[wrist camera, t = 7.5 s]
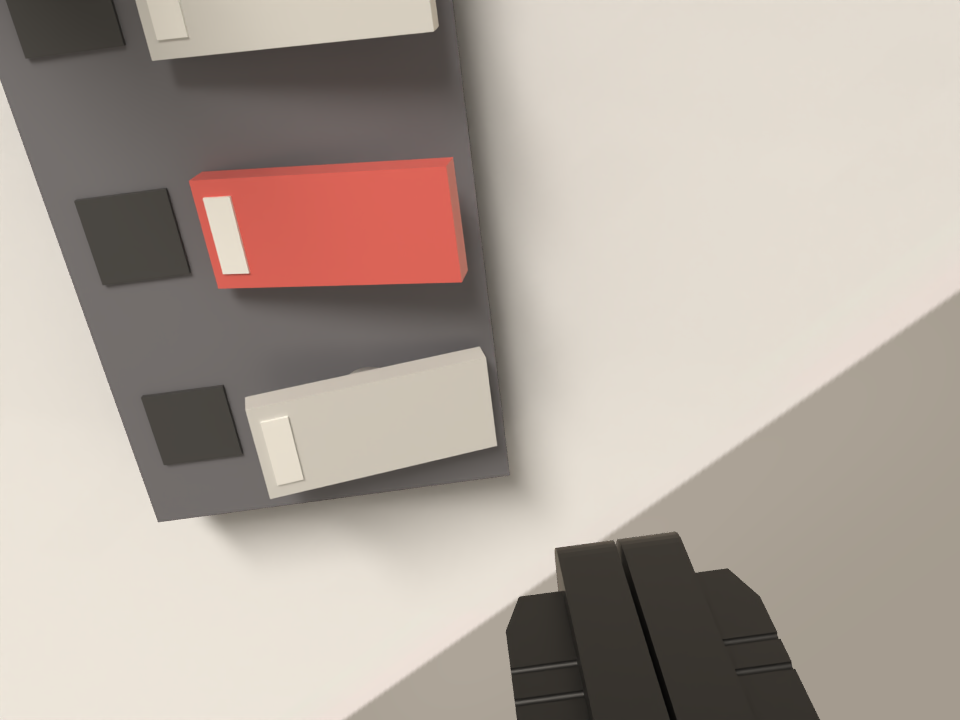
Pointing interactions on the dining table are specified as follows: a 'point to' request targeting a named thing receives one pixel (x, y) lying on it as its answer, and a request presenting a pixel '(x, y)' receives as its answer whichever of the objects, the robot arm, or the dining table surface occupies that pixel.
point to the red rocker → (333, 224)
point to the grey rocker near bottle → (274, 23)
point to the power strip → (181, 244)
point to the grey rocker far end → (372, 421)
